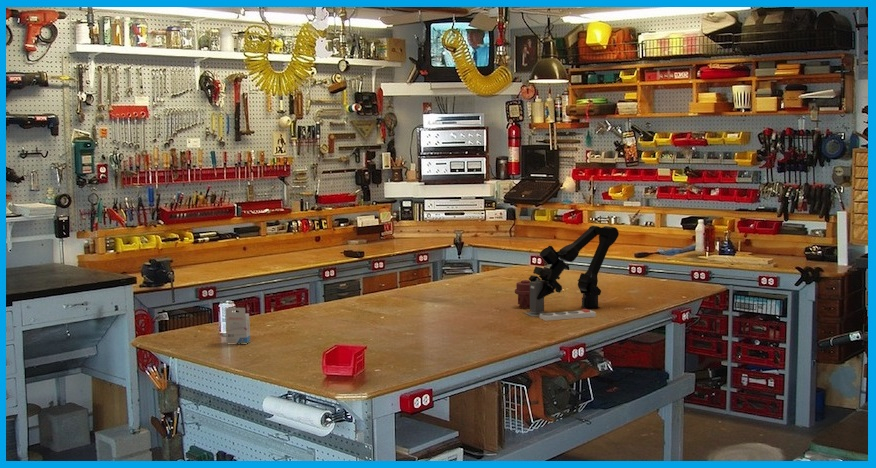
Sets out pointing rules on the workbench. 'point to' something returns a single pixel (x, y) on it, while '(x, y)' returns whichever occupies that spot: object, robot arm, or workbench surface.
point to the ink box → (237, 326)
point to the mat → (534, 314)
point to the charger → (534, 292)
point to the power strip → (568, 315)
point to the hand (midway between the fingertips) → (534, 298)
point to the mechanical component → (523, 293)
